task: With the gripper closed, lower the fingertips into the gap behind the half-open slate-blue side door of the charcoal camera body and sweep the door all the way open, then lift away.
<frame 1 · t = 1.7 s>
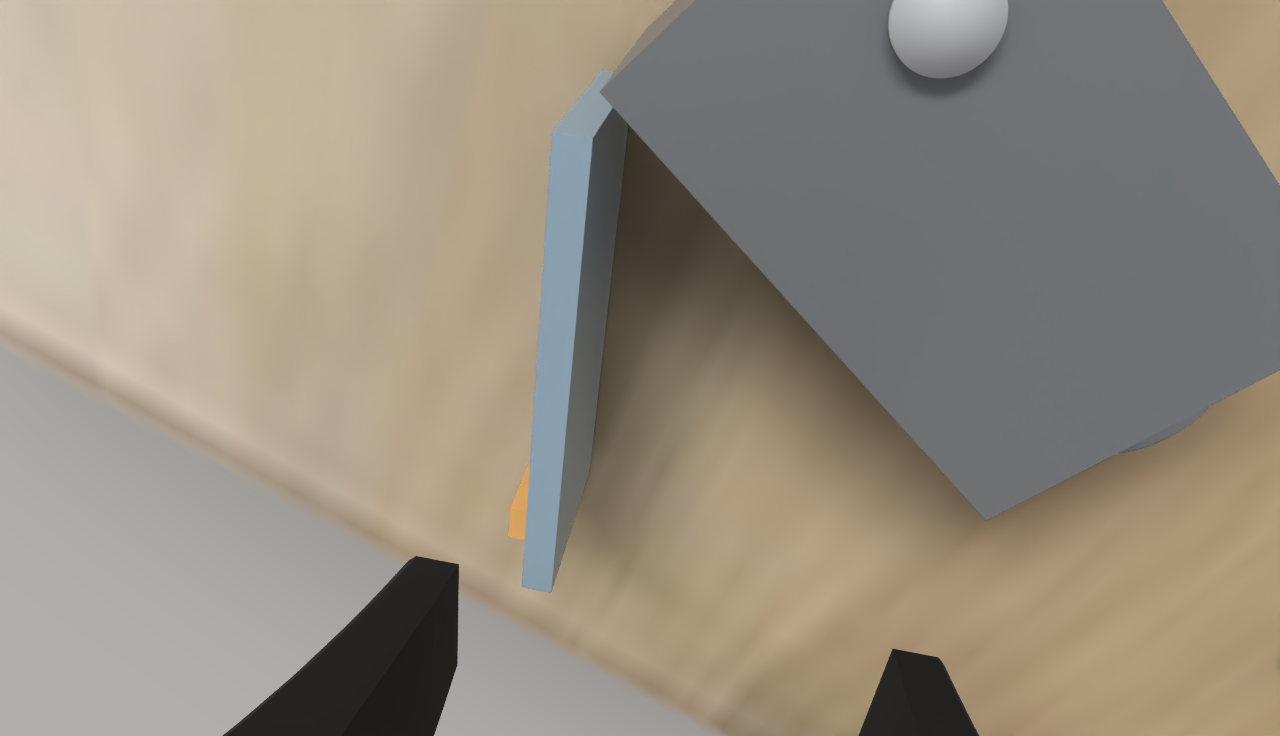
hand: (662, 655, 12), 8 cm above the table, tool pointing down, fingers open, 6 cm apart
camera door: (560, 339, 17), point 2 cm above the table, hinge at 50.0°
camera body: (939, 120, 16), on the table
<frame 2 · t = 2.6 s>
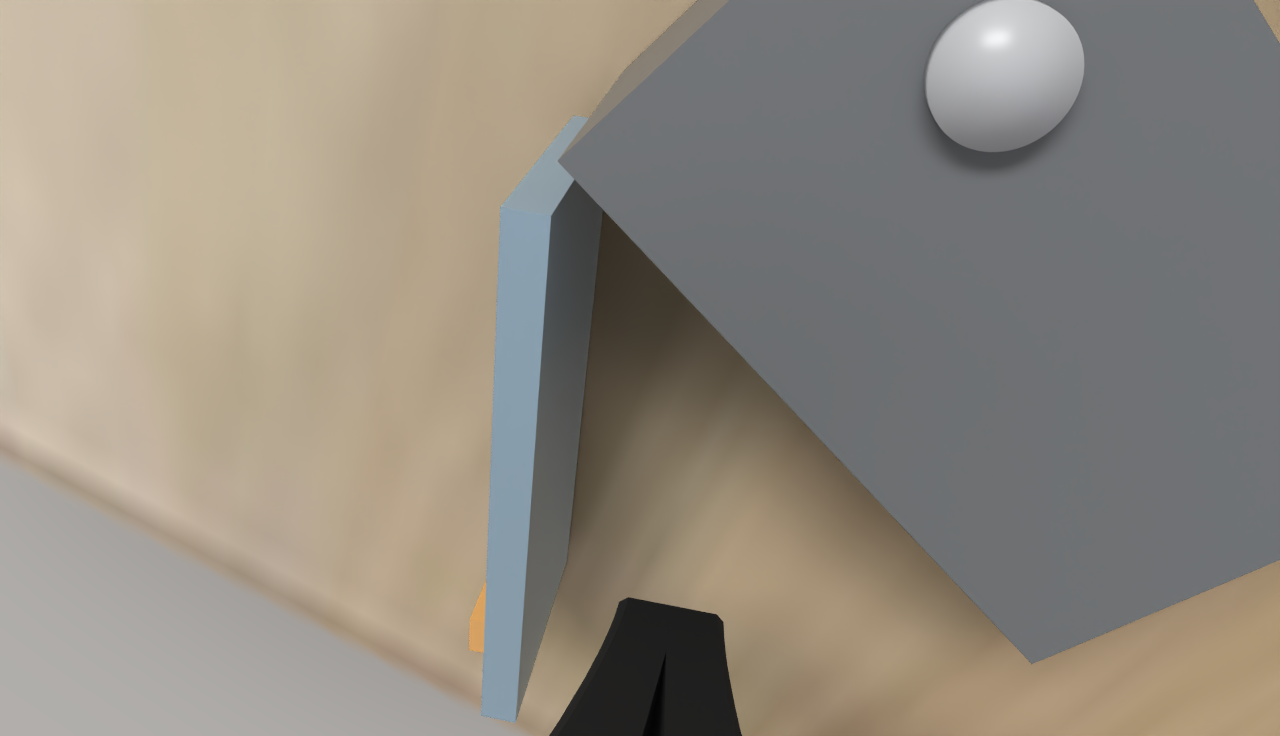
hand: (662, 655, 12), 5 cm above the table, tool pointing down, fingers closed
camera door: (525, 430, 14), point 2 cm above the table, hinge at 50.0°
camera body: (974, 177, 14), on the table
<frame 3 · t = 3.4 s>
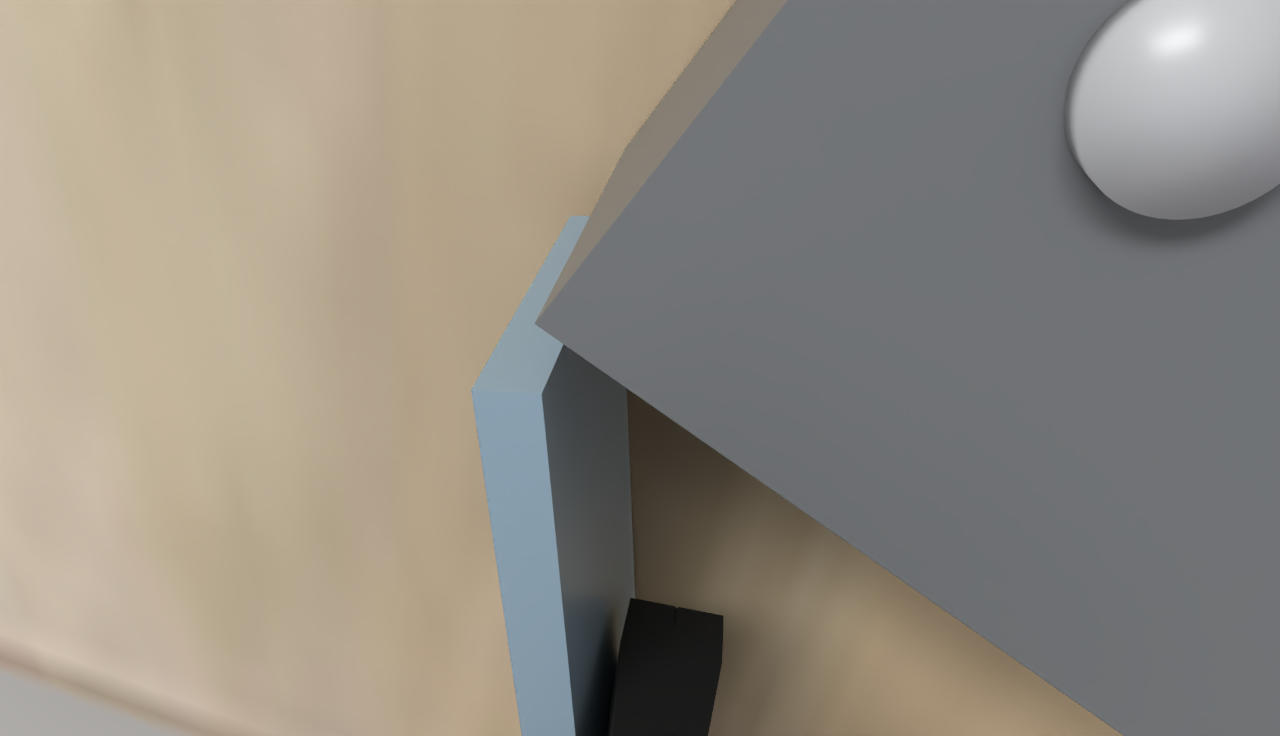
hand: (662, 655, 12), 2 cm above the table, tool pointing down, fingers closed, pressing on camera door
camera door: (562, 610, 11), point 2 cm above the table, hinge at 52.3°, touching gripper
camera body: (1107, 203, 10), on the table
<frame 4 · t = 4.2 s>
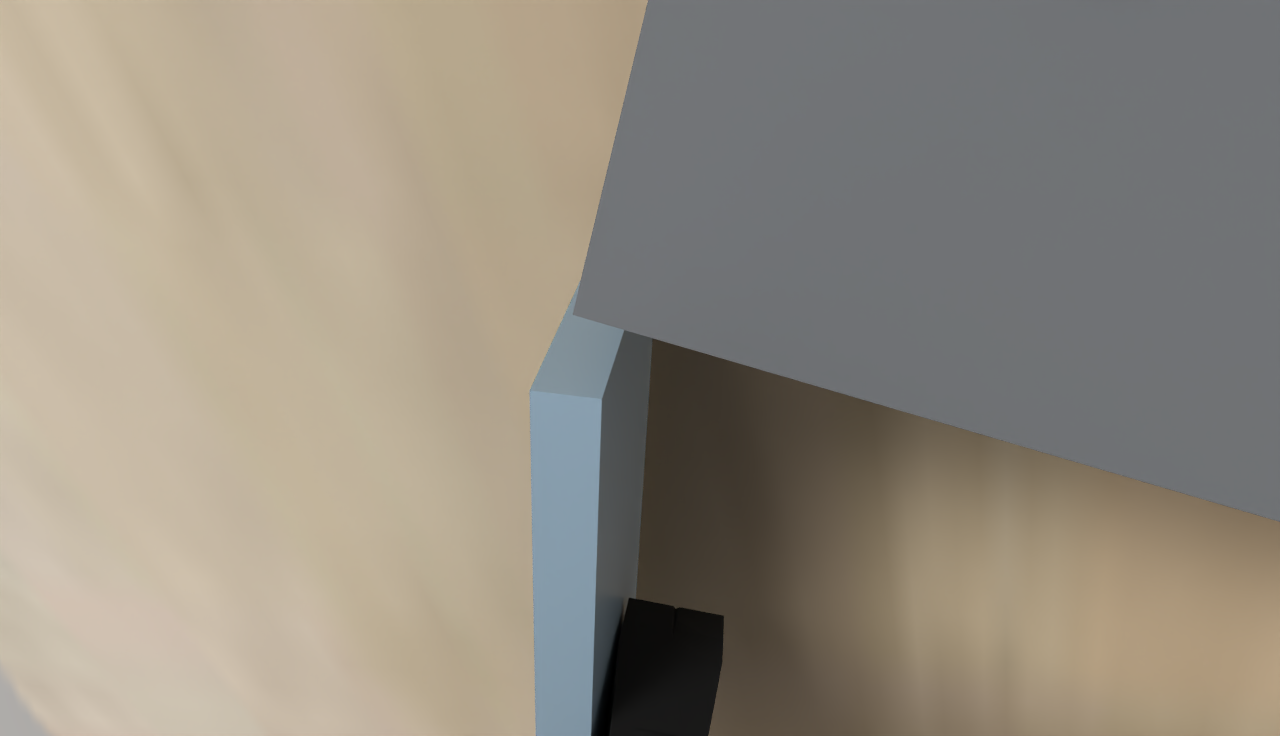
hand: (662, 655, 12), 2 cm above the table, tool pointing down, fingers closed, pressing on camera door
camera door: (573, 610, 11), point 2 cm above the table, hinge at 78.6°, touching gripper
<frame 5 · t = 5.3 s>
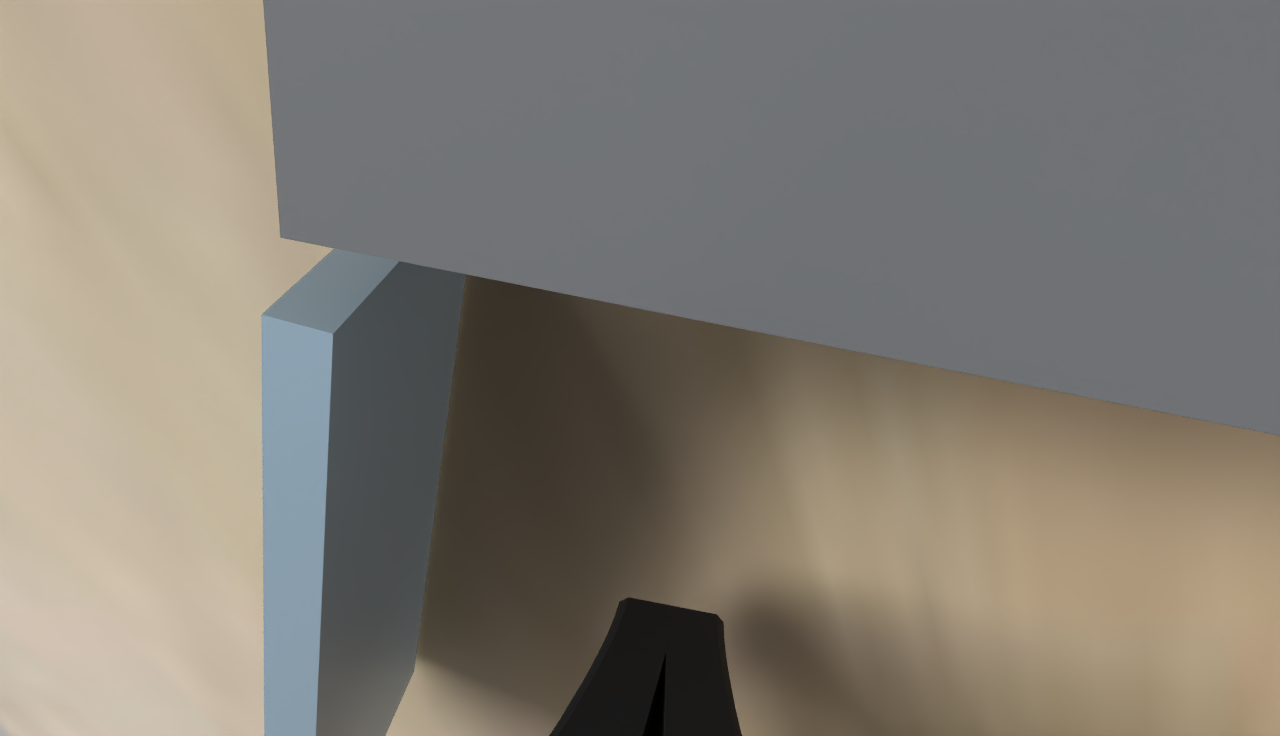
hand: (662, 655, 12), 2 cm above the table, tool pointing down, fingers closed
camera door: (342, 551, 11), point 2 cm above the table, hinge at 94.3°
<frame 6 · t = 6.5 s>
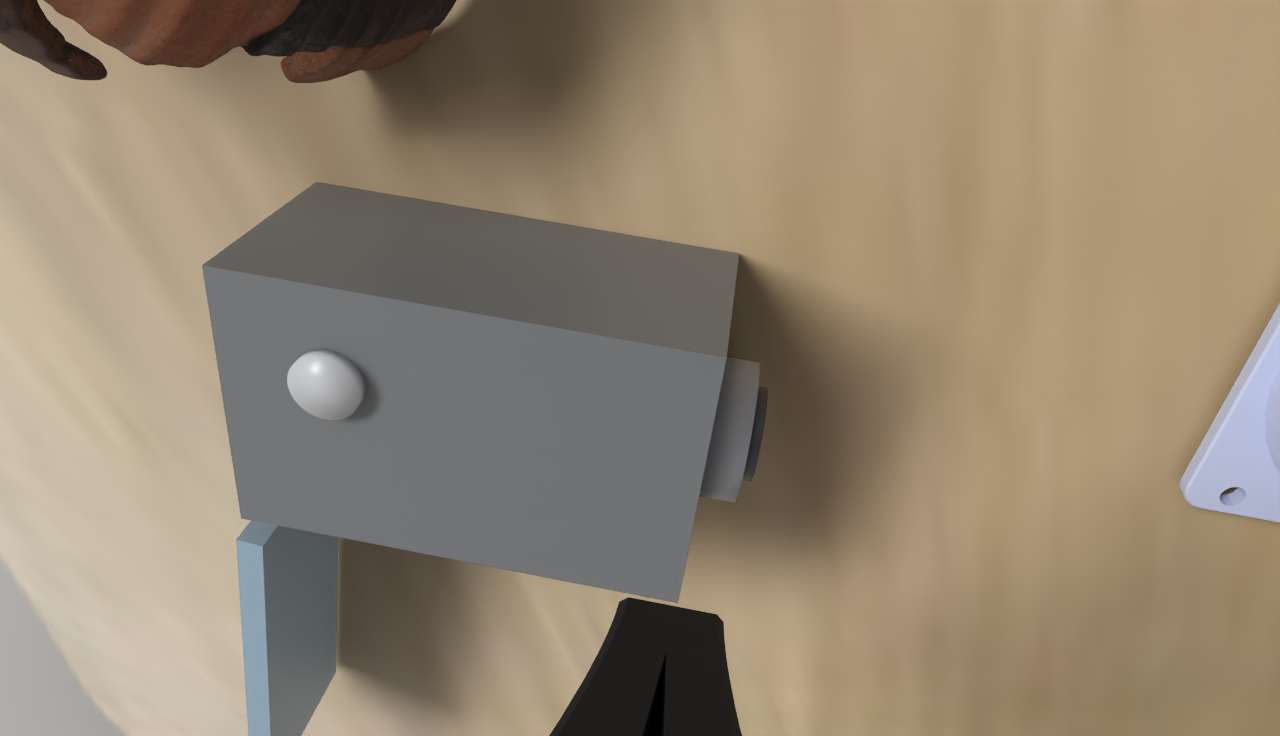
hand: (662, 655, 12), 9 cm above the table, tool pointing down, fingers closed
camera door: (283, 614, 24), point 2 cm above the table, hinge at 94.4°
camera body: (518, 335, 21), on the table
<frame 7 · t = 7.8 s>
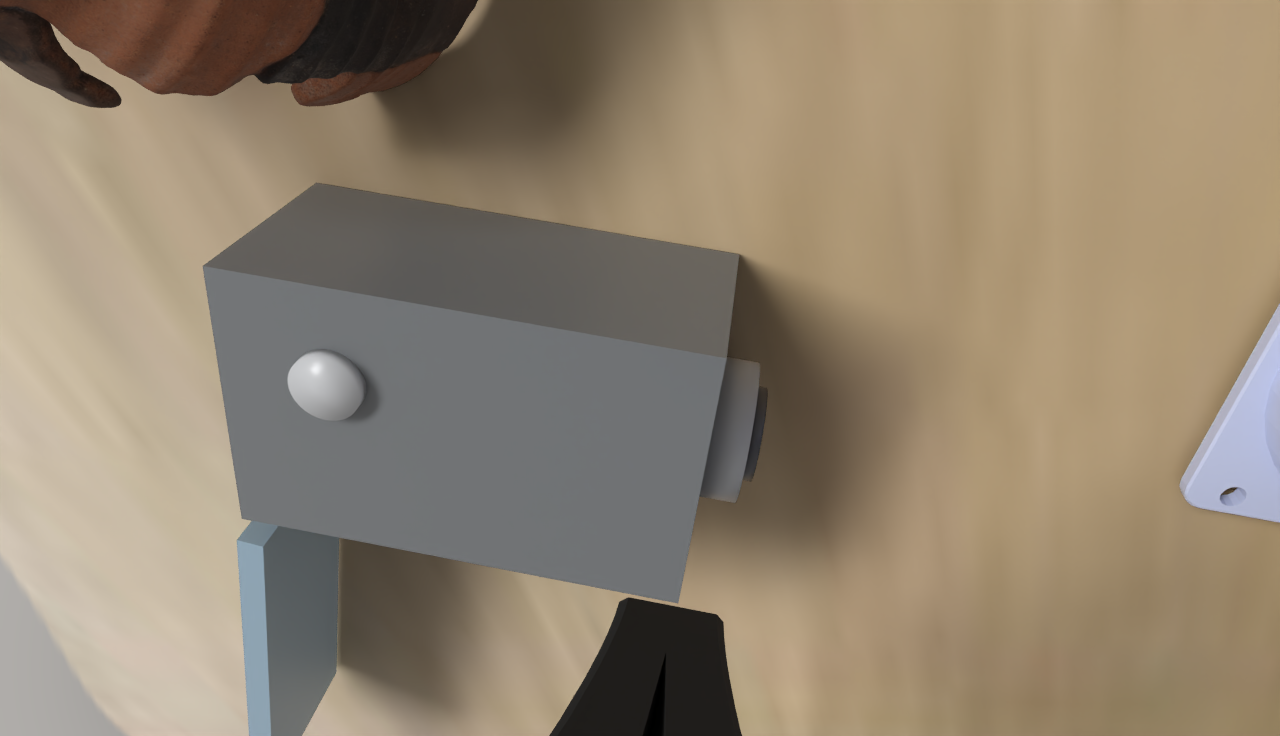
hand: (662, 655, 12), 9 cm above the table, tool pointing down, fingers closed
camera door: (284, 614, 24), point 2 cm above the table, hinge at 94.4°
camera body: (518, 336, 21), on the table
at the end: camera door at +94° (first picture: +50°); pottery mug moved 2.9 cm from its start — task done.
